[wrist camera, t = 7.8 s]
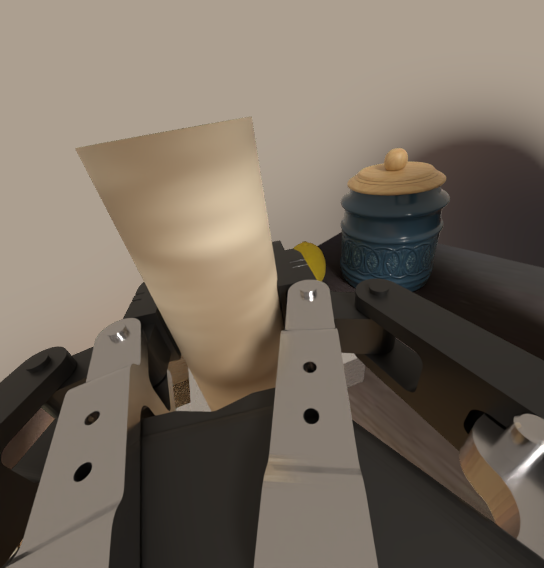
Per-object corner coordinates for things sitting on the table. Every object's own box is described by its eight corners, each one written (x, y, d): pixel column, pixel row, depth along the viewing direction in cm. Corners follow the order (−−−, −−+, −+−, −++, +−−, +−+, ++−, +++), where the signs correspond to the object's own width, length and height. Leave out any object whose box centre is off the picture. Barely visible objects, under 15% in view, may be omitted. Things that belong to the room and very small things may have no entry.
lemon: (301, 304, 37) (296, 255, 32) (284, 285, 41) (278, 240, 37) (333, 291, 38) (333, 243, 34) (314, 275, 42) (311, 230, 38)
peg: (284, 383, 16) (233, 119, 8) (314, 448, 13) (275, 112, 5) (222, 408, 15) (98, 143, 7) (237, 484, 12) (42, 154, 4)
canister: (324, 268, 44) (321, 155, 34) (384, 246, 47) (397, 137, 37) (379, 309, 34) (396, 166, 24) (451, 277, 37) (493, 139, 27)
